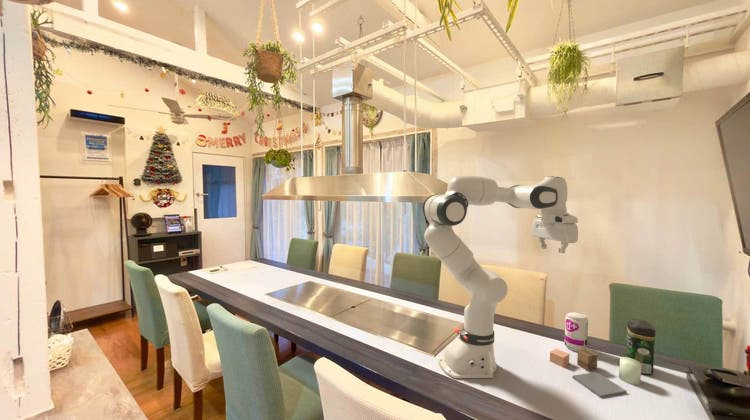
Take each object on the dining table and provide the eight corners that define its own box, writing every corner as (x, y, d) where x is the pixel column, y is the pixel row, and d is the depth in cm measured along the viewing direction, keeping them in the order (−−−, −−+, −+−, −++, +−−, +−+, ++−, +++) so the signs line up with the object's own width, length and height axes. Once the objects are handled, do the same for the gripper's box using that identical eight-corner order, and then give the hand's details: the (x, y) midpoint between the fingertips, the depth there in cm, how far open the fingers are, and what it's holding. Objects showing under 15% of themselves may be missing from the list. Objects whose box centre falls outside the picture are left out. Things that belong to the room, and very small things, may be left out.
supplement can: (576, 354, 128) (578, 319, 127) (559, 344, 136) (561, 312, 135) (591, 351, 130) (593, 317, 129) (574, 342, 138) (575, 310, 137)
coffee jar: (623, 359, 124) (625, 315, 123) (648, 365, 120) (651, 319, 119) (628, 371, 116) (631, 324, 115) (655, 378, 112) (658, 329, 111)
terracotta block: (562, 367, 119) (563, 357, 118) (549, 361, 123) (550, 352, 123) (569, 363, 121) (569, 354, 121) (556, 357, 125) (556, 348, 125)
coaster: (600, 397, 101) (600, 395, 101) (572, 377, 112) (572, 375, 112) (626, 393, 104) (626, 390, 104) (596, 373, 114) (596, 371, 114)
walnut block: (587, 371, 116) (588, 356, 116) (577, 364, 120) (577, 350, 120) (596, 369, 117) (597, 354, 117) (586, 363, 121) (587, 348, 121)
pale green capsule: (631, 386, 107) (632, 367, 107) (614, 376, 113) (615, 358, 113) (644, 384, 109) (645, 365, 108) (627, 374, 114) (628, 356, 114)
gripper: (528, 214, 132) (527, 246, 133) (567, 219, 112) (566, 256, 113) (540, 214, 133) (539, 245, 134) (582, 219, 113) (580, 255, 114)
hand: (552, 250), depth 123 cm, fingers open, 8 cm apart
